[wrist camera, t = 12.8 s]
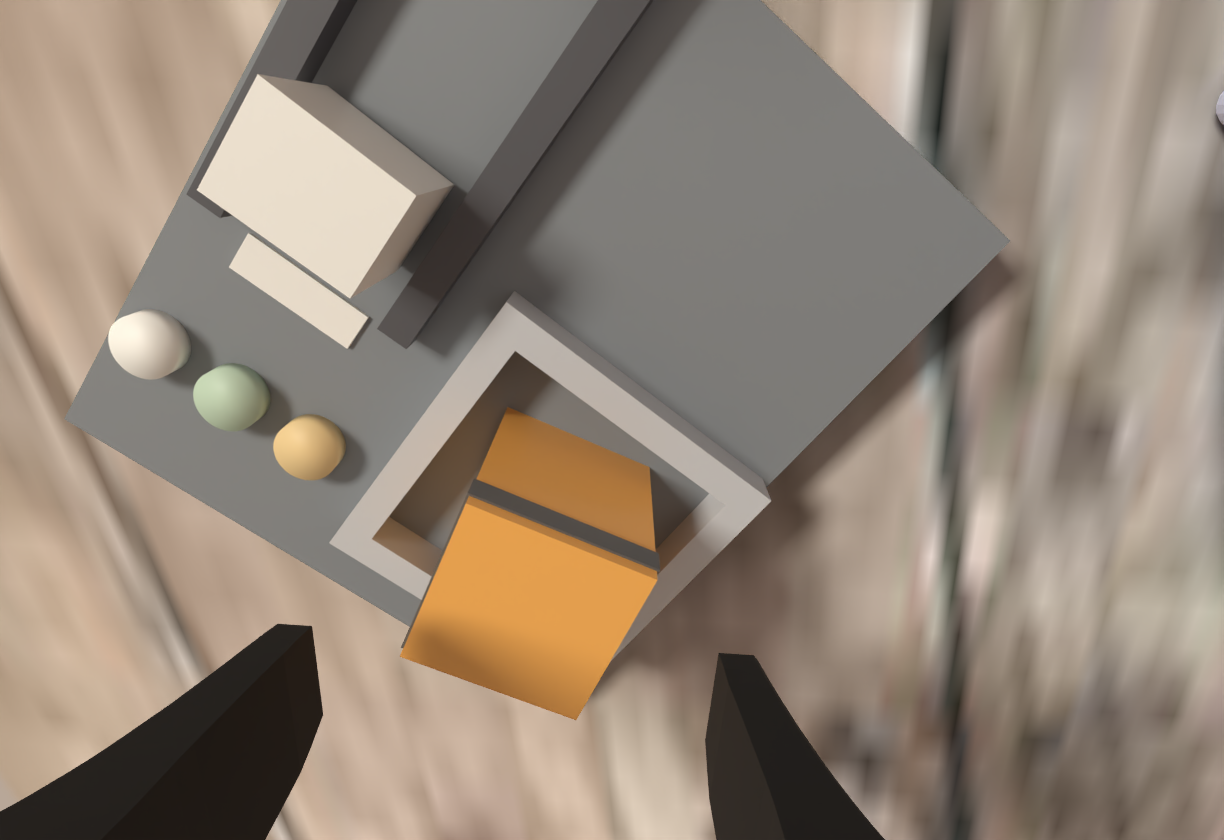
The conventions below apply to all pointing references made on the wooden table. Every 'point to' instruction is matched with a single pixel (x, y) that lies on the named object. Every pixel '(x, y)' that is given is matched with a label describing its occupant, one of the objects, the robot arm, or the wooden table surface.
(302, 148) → the switch
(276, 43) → the breaker panel
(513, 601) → the cap
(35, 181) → the wooden table surface
